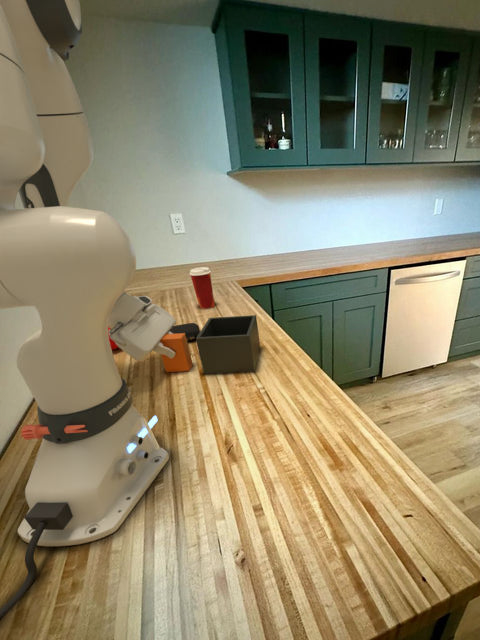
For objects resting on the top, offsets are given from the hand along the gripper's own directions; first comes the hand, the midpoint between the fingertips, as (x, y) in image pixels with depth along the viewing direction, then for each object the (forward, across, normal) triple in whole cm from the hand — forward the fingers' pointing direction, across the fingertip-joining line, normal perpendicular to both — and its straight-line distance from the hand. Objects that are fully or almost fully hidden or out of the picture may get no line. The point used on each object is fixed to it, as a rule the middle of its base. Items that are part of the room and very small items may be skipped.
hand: (177, 351), depth 84 cm
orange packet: (+3, 0, +4) cm, 5 cm away
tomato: (-14, +15, +22) cm, 30 cm away
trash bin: (+12, +3, -6) cm, 14 cm away
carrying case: (-2, +19, +9) cm, 21 cm away
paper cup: (0, +50, +8) cm, 51 cm away
